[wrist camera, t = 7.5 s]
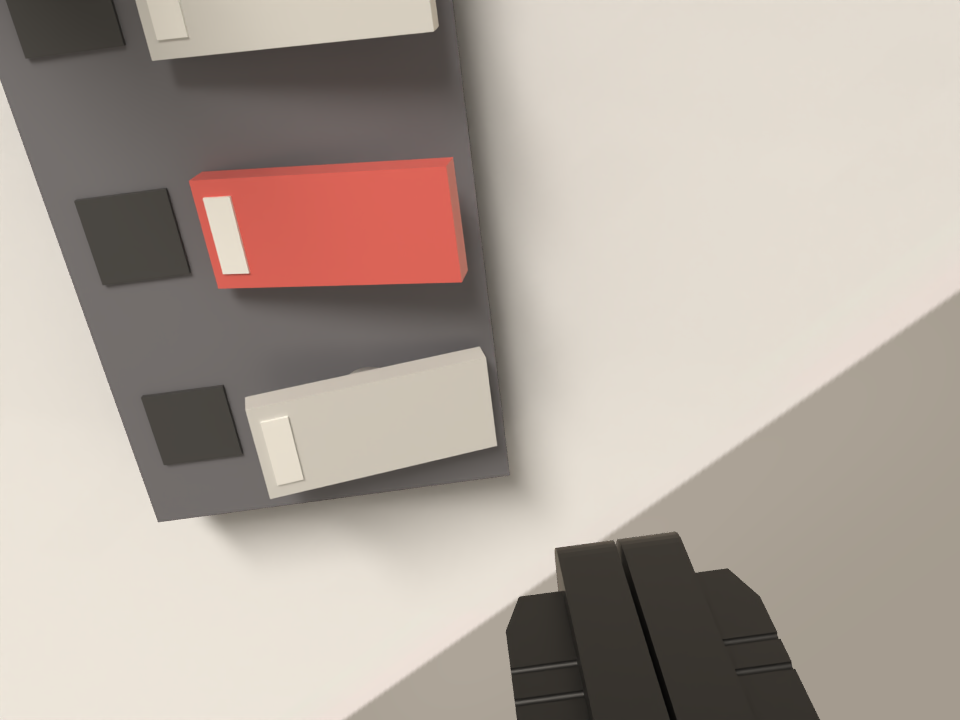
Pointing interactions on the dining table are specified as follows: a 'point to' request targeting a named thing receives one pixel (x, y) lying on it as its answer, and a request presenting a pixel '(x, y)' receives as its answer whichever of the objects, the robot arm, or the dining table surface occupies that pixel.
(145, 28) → the grey rocker near bottle
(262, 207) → the block
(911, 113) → the dining table surface
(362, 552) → the dining table surface
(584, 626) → the robot arm
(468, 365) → the grey rocker far end
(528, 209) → the dining table surface
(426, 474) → the power strip
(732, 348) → the dining table surface
